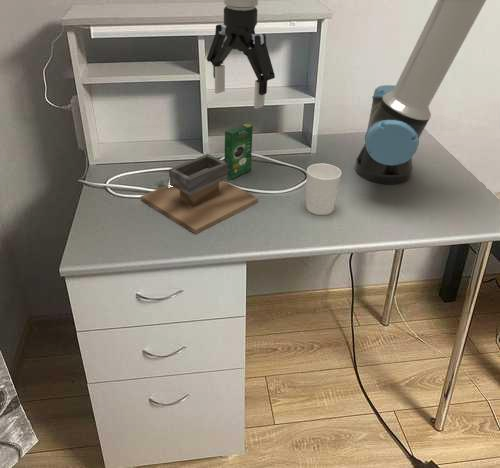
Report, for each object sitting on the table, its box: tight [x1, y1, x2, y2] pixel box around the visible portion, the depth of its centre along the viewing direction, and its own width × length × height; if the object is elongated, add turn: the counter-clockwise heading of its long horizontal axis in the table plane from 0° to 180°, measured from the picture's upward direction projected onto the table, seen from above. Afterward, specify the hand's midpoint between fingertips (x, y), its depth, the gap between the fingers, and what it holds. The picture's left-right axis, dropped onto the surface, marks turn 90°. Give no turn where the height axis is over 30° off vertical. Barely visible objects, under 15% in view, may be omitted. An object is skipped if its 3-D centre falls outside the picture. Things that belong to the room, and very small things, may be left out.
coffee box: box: [224, 122, 253, 180], centre depth 136 cm, size 8×3×13 cm, turn 138°
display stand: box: [140, 153, 259, 235], centre depth 125 cm, size 20×20×10 cm
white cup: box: [305, 163, 342, 216], centre depth 124 cm, size 8×8×10 cm
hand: (238, 99), depth 128 cm, fingers open, 13 cm apart
